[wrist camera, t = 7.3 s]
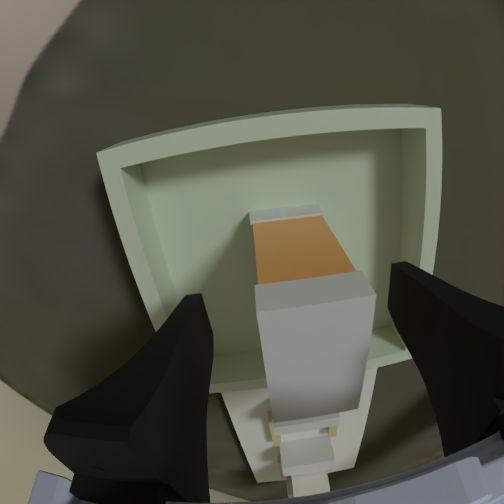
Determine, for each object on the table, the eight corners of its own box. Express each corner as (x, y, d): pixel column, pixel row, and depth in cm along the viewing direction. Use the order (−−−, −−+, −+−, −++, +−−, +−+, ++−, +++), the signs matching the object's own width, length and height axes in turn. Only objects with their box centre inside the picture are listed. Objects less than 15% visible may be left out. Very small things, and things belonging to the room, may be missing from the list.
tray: (407, 103, 12) (440, 108, 10) (397, 327, 18) (414, 357, 16) (122, 141, 13) (96, 152, 10) (189, 359, 19) (184, 394, 16)
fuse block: (374, 343, 19) (392, 384, 15) (352, 459, 27) (358, 487, 24) (217, 368, 19) (214, 413, 16) (256, 474, 27) (258, 502, 24)
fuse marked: (317, 203, 14) (376, 294, 7) (320, 297, 16) (358, 408, 10) (249, 211, 14) (256, 312, 8) (261, 304, 16) (273, 422, 10)
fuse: (322, 446, 23) (335, 517, 17) (321, 467, 25) (331, 528, 19) (287, 452, 23) (295, 524, 17) (290, 472, 25) (297, 534, 19)
